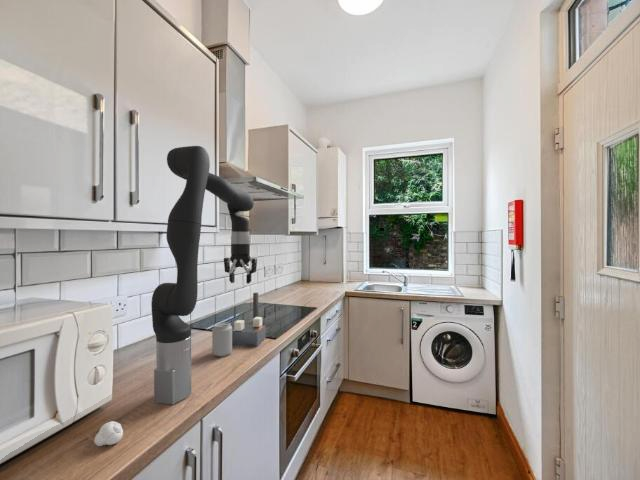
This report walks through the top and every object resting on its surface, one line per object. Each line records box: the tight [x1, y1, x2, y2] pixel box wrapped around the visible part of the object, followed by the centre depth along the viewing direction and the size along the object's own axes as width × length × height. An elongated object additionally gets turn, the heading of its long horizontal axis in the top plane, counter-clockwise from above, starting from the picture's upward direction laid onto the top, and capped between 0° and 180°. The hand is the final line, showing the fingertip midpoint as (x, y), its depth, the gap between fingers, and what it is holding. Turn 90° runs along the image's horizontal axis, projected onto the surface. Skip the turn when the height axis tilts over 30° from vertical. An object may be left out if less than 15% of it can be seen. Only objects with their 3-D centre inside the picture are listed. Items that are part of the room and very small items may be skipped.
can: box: [211, 321, 233, 358], centre depth 115 cm, size 8×8×12 cm
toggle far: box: [252, 316, 263, 327], centre depth 131 cm, size 4×3×4 cm
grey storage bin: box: [232, 323, 267, 348], centre depth 128 cm, size 10×12×6 cm
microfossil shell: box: [93, 421, 124, 447], centre depth 66 cm, size 4×5×6 cm
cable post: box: [252, 292, 259, 320], centre depth 136 cm, size 4×4×20 cm
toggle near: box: [233, 319, 245, 331], centre depth 126 cm, size 4×3×4 cm
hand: (240, 282), depth 120 cm, fingers open, 6 cm apart
